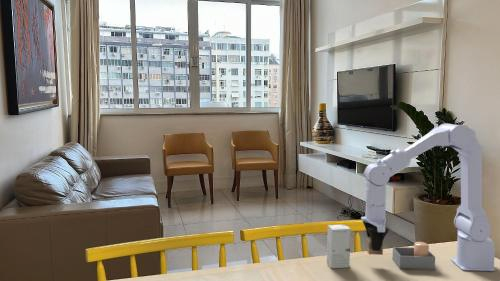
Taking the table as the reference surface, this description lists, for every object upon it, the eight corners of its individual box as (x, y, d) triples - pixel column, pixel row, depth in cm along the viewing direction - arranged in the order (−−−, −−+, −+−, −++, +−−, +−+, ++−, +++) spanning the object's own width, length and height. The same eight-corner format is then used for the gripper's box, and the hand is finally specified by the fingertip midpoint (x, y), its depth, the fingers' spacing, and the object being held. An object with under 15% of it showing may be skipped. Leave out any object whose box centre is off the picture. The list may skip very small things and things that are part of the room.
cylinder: (424, 260, 118) (425, 241, 117) (430, 266, 114) (431, 246, 113) (411, 260, 118) (412, 241, 118) (416, 265, 114) (417, 246, 114)
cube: (379, 249, 117) (379, 237, 117) (382, 254, 113) (383, 241, 113) (366, 249, 118) (366, 236, 117) (369, 254, 114) (369, 241, 113)
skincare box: (331, 268, 113) (331, 229, 112) (326, 262, 118) (326, 224, 117) (350, 267, 114) (351, 228, 113) (344, 261, 119) (345, 223, 117)
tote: (425, 260, 119) (425, 247, 119) (434, 269, 113) (435, 257, 112) (392, 259, 120) (392, 247, 120) (399, 269, 113) (400, 256, 113)
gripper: (356, 197, 121) (355, 238, 123) (367, 210, 107) (366, 256, 108) (379, 197, 121) (378, 238, 122) (393, 210, 106) (391, 257, 108)
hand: (374, 247), depth 115 cm, fingers closed on cube, 4 cm apart
